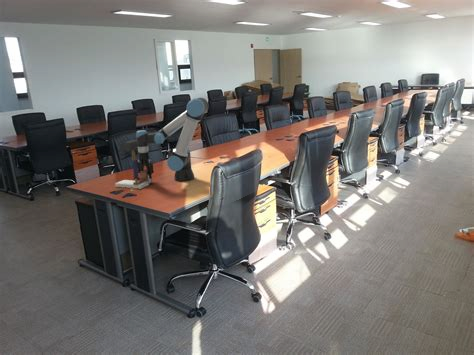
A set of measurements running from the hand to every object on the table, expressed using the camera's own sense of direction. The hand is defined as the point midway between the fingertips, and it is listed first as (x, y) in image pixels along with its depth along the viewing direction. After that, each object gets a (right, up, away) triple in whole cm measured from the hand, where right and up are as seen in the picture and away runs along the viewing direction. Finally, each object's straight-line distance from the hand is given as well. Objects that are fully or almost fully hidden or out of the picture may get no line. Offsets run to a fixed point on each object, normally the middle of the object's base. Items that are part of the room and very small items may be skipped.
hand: (146, 182), depth 296 cm
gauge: (-2, -2, -5) cm, 6 cm away
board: (-10, -2, -5) cm, 11 cm away
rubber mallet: (-12, +3, +16) cm, 20 cm away
